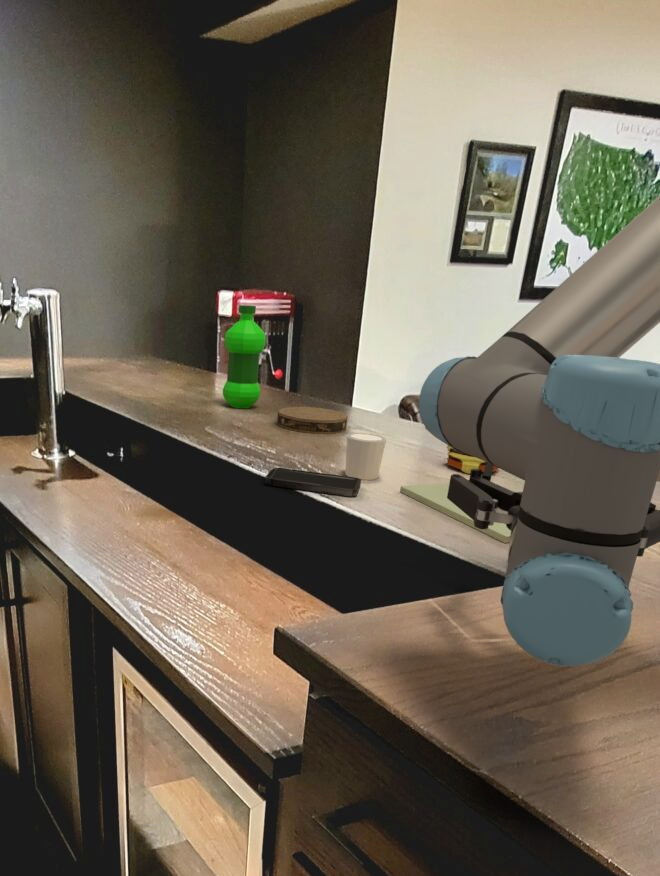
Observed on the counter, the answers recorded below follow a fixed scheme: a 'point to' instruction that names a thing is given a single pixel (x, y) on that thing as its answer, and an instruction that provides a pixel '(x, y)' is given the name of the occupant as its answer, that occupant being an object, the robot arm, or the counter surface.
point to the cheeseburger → (465, 461)
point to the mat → (452, 507)
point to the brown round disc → (312, 420)
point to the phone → (313, 481)
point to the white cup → (364, 455)
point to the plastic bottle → (243, 359)
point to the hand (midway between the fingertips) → (555, 484)
